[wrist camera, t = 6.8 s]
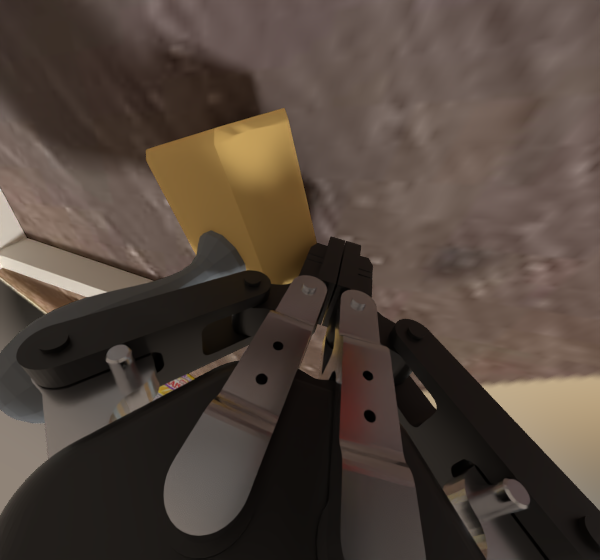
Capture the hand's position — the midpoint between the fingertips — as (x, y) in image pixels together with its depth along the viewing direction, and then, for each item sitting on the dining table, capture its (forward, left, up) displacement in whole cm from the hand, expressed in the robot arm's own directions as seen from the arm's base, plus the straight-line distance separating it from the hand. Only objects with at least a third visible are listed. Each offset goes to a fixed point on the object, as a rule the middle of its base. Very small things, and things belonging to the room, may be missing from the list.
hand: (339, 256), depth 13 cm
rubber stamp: (0, -4, -2) cm, 4 cm away
